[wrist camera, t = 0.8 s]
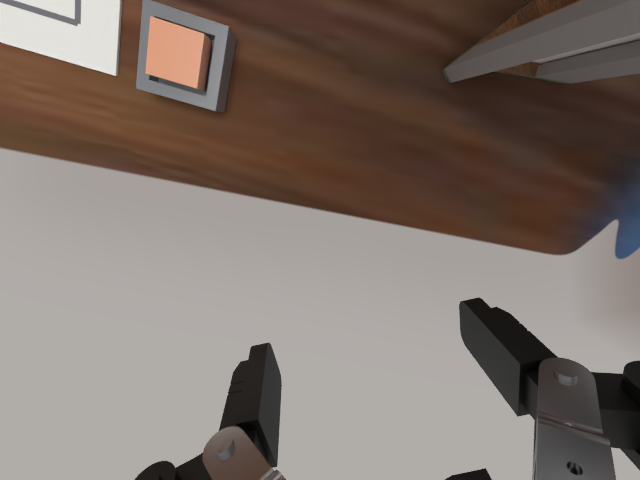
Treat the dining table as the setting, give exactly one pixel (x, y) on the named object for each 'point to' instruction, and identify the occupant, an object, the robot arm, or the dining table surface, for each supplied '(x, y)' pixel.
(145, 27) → the button housing
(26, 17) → the paper sheet
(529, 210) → the dining table surface
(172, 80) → the button
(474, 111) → the dining table surface
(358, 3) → the dining table surface
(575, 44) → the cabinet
